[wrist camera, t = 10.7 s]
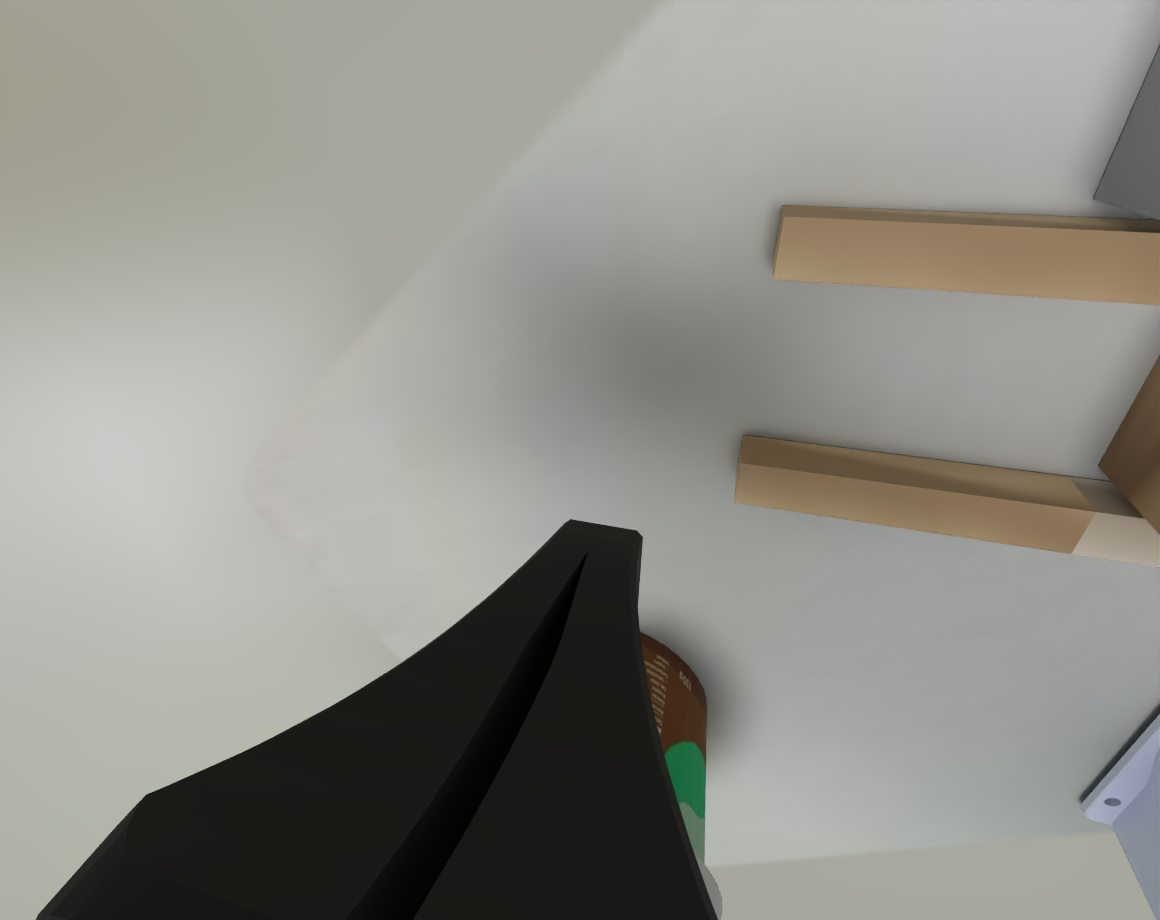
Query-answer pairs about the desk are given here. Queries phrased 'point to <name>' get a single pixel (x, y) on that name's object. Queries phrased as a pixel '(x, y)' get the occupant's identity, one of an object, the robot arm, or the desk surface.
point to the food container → (682, 742)
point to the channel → (978, 265)
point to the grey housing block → (1137, 155)
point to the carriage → (1139, 451)
